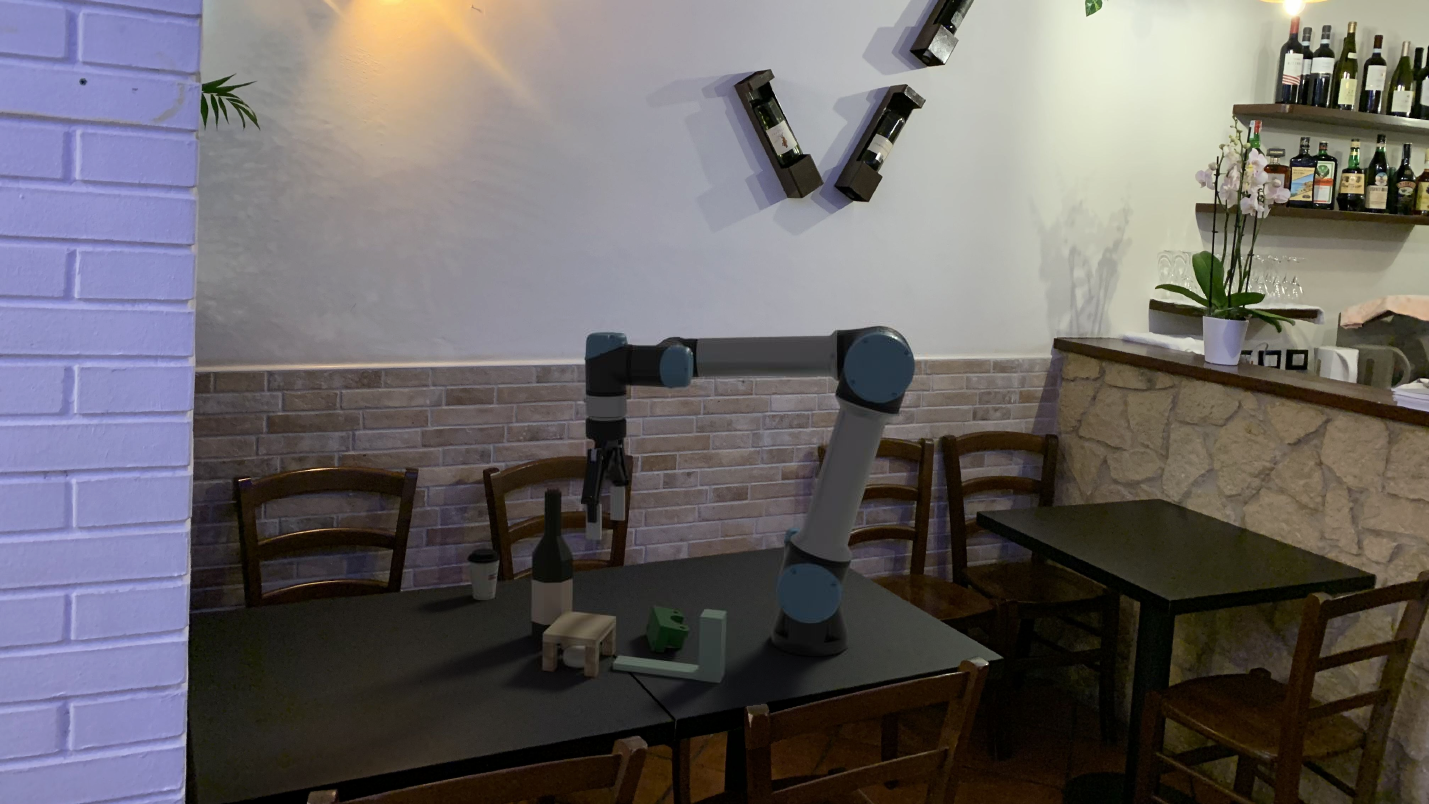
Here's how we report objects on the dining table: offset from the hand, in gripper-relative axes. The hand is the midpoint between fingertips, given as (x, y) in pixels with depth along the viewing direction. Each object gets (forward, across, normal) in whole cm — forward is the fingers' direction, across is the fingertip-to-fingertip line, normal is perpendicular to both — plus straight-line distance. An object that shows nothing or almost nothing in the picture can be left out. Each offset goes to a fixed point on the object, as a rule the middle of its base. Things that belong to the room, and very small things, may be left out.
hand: (606, 529), depth 200 cm
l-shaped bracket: (+24, +6, +14) cm, 28 cm away
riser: (+24, +6, -3) cm, 25 cm away
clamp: (+24, -7, +10) cm, 27 cm away
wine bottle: (+24, -3, -12) cm, 27 cm away
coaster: (+24, +6, -3) cm, 25 cm away
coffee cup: (+24, -20, -35) cm, 46 cm away
